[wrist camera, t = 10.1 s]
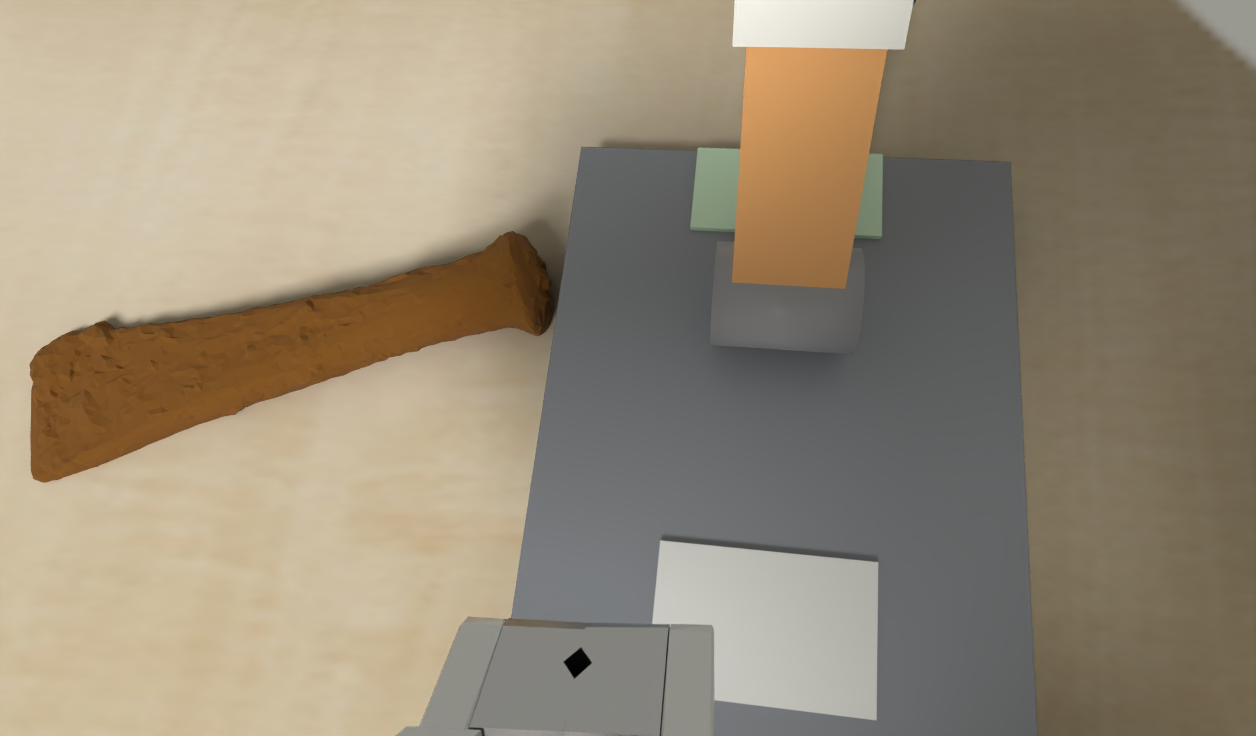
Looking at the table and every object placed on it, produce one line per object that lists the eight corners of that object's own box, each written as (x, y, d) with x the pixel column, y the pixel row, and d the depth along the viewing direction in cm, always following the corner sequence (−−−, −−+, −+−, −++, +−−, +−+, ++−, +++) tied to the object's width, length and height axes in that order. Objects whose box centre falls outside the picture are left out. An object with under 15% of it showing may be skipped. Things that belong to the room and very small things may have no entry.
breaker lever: (850, 376, 23) (948, -112, 15) (708, 365, 23) (729, -111, 15) (845, 312, 25) (926, -142, 17) (715, 304, 25) (736, -139, 17)
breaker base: (1018, 943, 21) (1052, 976, 19) (492, 860, 22) (469, 882, 20) (990, 194, 28) (1012, 158, 25) (590, 178, 29) (580, 143, 27)
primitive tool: (40, 489, 28) (-49, 468, 25) (41, 348, 30) (-42, 311, 27) (568, 345, 28) (549, 304, 25) (536, 213, 30) (514, 158, 26)
